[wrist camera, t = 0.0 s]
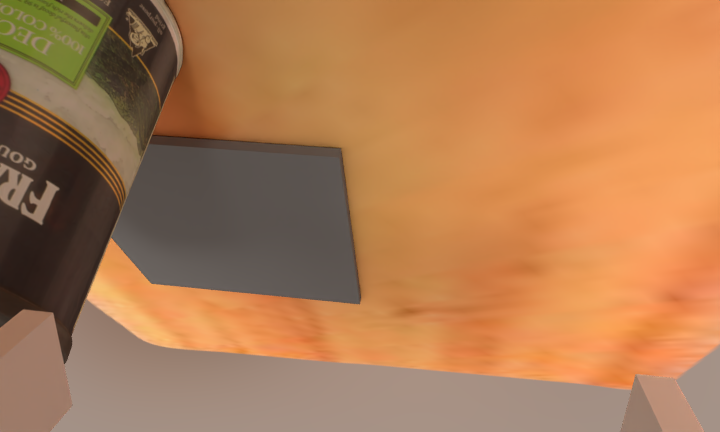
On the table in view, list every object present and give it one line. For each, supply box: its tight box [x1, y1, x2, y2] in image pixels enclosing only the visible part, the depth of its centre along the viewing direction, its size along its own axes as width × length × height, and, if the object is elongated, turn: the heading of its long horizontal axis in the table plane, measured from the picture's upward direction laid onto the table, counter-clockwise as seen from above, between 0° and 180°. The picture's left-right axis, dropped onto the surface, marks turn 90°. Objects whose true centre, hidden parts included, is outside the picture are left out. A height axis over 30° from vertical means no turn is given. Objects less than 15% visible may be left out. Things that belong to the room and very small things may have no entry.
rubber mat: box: [111, 136, 361, 304], centre depth 40 cm, size 20×18×1 cm
